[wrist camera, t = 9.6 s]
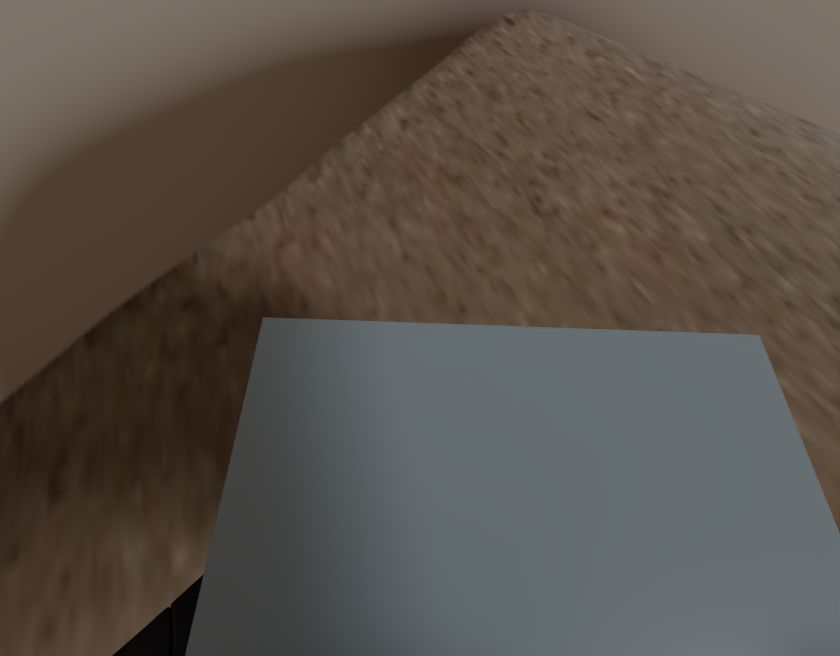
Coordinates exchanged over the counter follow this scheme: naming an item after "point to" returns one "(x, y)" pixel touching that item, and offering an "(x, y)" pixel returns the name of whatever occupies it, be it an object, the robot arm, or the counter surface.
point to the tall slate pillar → (516, 498)
